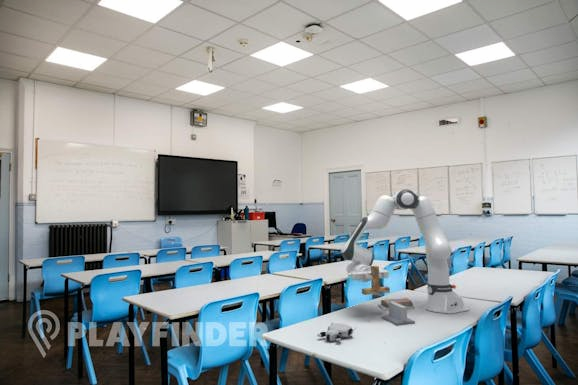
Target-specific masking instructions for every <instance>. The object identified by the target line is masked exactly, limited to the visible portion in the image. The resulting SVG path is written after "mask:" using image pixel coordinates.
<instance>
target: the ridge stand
mask: <svg viewBox="0 0 578 385" xmlns="http://www.w3.org/2000/svg"><path fill="white" fill-rule="evenodd" d="M381 318H382V319H383V320H385V321H387V322H389V323H391V324H393V325H394V326H396V327H397V326H404V325H414V324H416V322H415V321H414V320H413V319H411V318H409V317H408V309H407V307H405V306H403V305H401V304H398V303H396V302H389V310H388V314H385V315H384V314H383V315H381Z"/></svg>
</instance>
